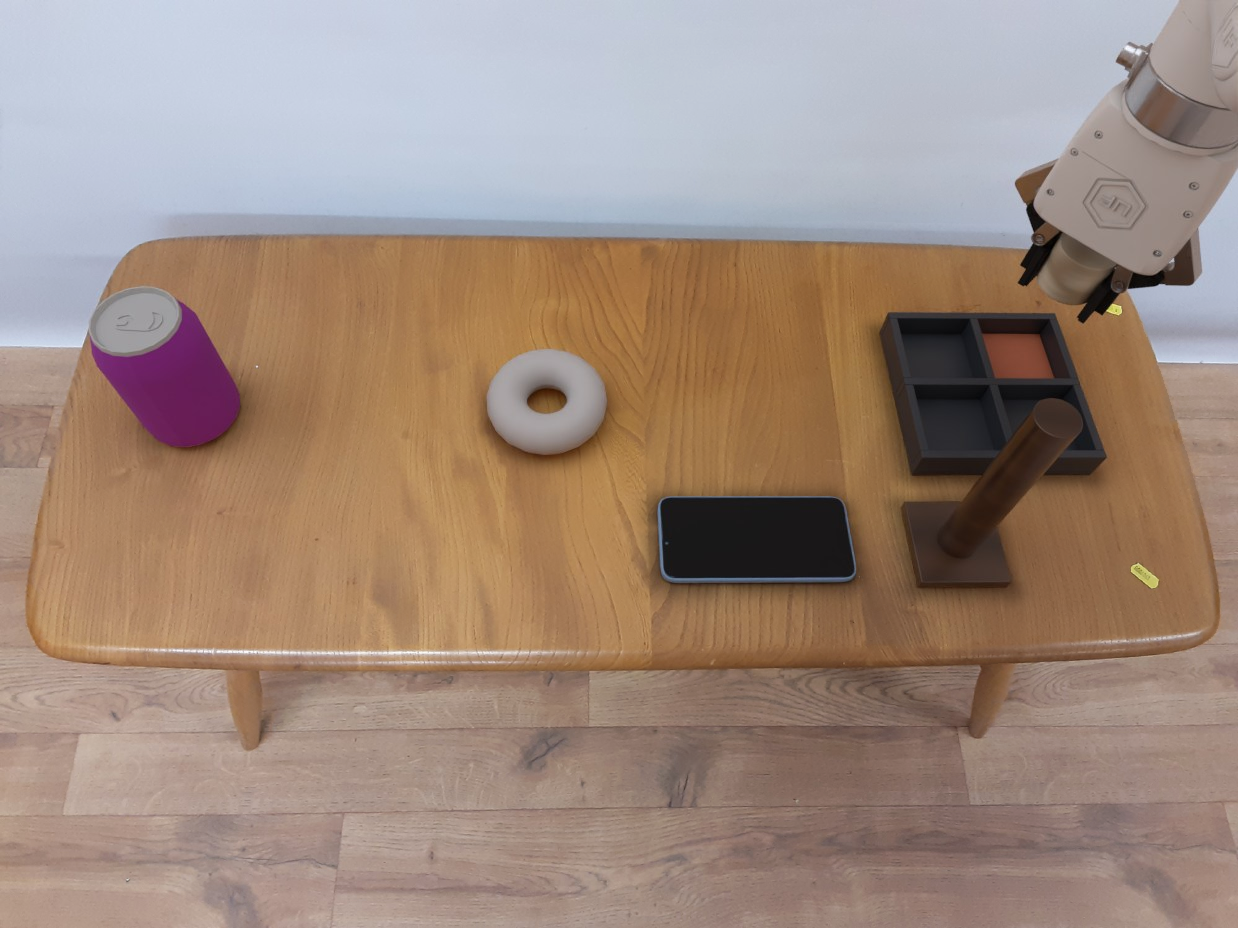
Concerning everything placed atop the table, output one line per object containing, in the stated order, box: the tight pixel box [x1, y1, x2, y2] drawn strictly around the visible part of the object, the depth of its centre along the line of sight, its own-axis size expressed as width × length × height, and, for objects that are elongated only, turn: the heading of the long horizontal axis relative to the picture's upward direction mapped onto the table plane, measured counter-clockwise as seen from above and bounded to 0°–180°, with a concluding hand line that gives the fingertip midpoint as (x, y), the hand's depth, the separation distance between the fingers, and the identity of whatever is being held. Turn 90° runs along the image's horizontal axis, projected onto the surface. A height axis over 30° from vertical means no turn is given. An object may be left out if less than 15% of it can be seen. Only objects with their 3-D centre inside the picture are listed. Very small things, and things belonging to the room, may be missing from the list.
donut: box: [485, 348, 608, 456], centre depth 73 cm, size 10×4×10 cm
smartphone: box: [657, 495, 857, 584], centre depth 69 cm, size 7×1×15 cm
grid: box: [878, 311, 1108, 476], centre depth 76 cm, size 15×15×3 cm
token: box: [1036, 232, 1117, 306], centre depth 68 cm, size 5×5×4 cm
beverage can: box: [87, 285, 241, 448], centre depth 68 cm, size 8×8×12 cm
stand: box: [900, 398, 1083, 589], centre depth 62 cm, size 7×7×18 cm
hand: (1059, 292), depth 71 cm, fingers closed on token, 4 cm apart
